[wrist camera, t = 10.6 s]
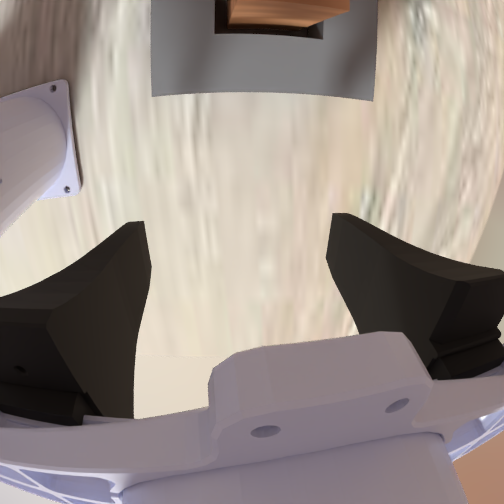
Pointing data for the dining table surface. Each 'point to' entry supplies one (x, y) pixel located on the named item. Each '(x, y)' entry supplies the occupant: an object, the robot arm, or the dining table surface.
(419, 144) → the dining table surface
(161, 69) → the bore block
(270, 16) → the square peg
